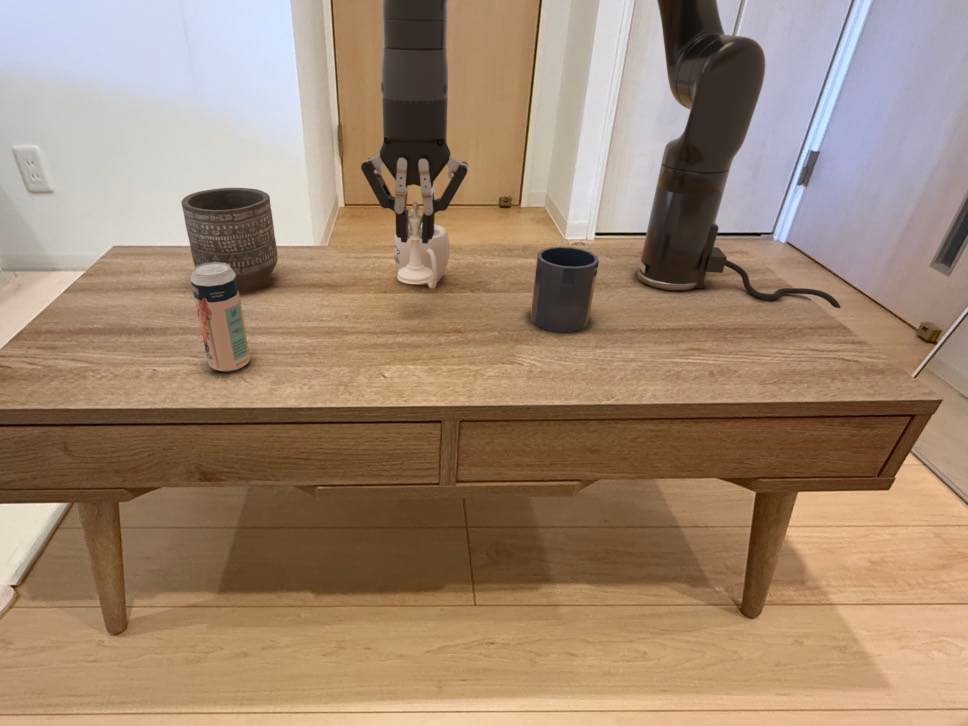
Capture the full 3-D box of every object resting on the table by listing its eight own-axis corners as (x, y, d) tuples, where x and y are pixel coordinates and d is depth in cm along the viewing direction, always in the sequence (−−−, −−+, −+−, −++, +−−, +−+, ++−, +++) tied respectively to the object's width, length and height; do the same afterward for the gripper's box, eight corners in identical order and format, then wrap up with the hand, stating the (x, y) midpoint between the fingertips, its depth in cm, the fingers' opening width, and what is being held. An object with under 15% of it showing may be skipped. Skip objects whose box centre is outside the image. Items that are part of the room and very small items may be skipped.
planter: (199, 272, 97) (182, 189, 90) (277, 265, 100) (266, 184, 93) (197, 303, 87) (178, 213, 80) (284, 294, 90) (272, 207, 83)
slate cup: (584, 309, 87) (595, 248, 82) (590, 334, 81) (602, 269, 76) (529, 306, 88) (536, 245, 83) (531, 330, 81) (538, 266, 76)
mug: (389, 271, 98) (387, 223, 94) (439, 267, 100) (440, 219, 96) (407, 301, 89) (406, 249, 84) (462, 295, 91) (465, 244, 86)
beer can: (214, 354, 75) (194, 261, 68) (253, 353, 75) (237, 260, 69) (205, 375, 71) (183, 277, 64) (247, 373, 71) (229, 276, 65)
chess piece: (390, 281, 81) (389, 205, 76) (405, 268, 85) (405, 195, 79) (425, 286, 80) (425, 209, 74) (438, 273, 83) (440, 199, 78)
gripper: (477, 91, 72) (469, 234, 82) (362, 87, 74) (368, 229, 83) (473, 99, 66) (466, 254, 76) (348, 96, 67) (356, 248, 77)
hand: (414, 240), depth 80 cm, fingers closed on chess piece
